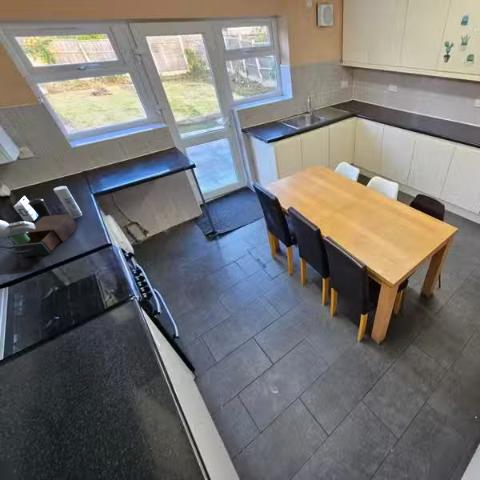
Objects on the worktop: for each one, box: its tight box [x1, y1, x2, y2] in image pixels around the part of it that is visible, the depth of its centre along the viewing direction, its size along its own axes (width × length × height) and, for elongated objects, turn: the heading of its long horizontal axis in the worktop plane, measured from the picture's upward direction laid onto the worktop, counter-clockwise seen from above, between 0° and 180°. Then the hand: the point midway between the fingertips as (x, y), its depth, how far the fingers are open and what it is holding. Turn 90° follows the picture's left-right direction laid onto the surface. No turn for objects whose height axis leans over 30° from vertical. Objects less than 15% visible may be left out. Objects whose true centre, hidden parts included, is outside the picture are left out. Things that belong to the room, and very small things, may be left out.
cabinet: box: [26, 213, 79, 244], centre depth 161 cm, size 17×15×10 cm
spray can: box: [53, 185, 83, 219], centre depth 175 cm, size 6×6×20 cm
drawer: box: [13, 231, 61, 258], centre depth 150 cm, size 20×13×8 cm, turn 10°
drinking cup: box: [28, 191, 53, 219], centre depth 172 cm, size 8×8×20 cm
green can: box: [9, 233, 30, 245], centre depth 138 cm, size 6×6×8 cm
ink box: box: [13, 195, 40, 223], centre depth 175 cm, size 8×5×15 cm, turn 25°
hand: (17, 234), depth 138 cm, fingers closed on green can, 5 cm apart
